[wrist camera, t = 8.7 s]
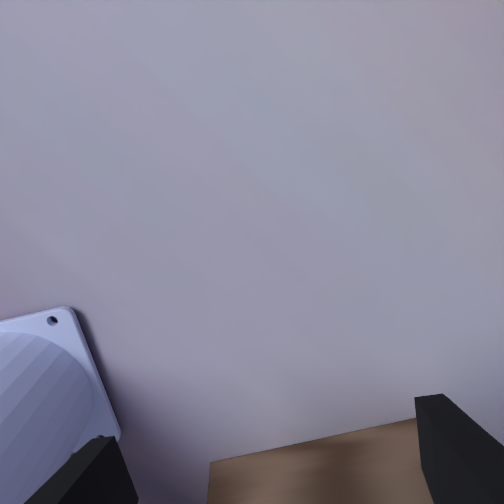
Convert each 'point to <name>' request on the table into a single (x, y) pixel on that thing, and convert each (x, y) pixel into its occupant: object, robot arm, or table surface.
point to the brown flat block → (328, 471)
